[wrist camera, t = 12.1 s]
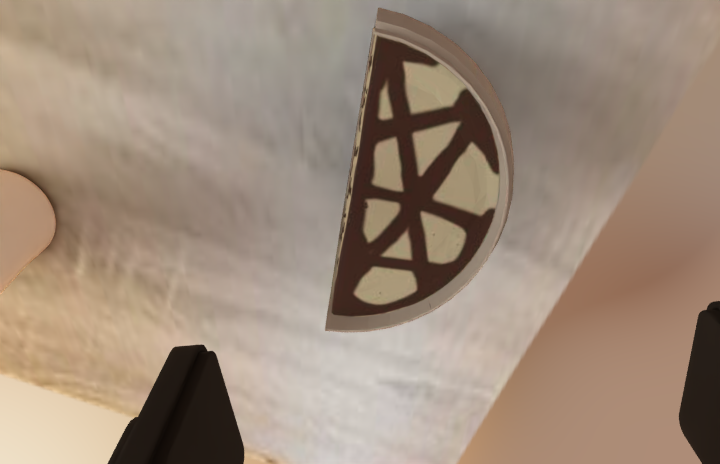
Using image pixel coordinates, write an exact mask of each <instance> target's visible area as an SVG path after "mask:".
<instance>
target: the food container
mask: <svg viewBox="0 0 720 464" xmlns="http://www.w3.org/2000/svg"><path fill="white" fill-rule="evenodd" d="M513 174H514V157H513V149H512V141H511V133H510V129H509V126H508V123H507V119H506V116H505V113H504V110H503V107H502V105H501V103H500V101H499V99H498V97H497V95H496V93H495V91H494V89H493V87H492V85H491V83H490V82H489V81H488V79H487V78H486V77H485V75H484V74H483V72H482V71H481V70H480V68H479V67H478V66H477V64H476V63H475V62H474V61H473V60H472V59H471V58H470V57H469V56H468V55H467V54H466V53H465V52H464V51H463V50H462V49H461V48H460V47H459V46H457V45H456V44H455V43H454V42H453V41H451V40H450V39H448V38H447V37H445V36H444V35H442V34H441V33H439V32H438V31H437V30H435V29H434V28H432V27H431V26H428V25H426V24H424V23H422V22H420V21H417V20H415V19H413V18H411V17H409V16H406V15H404V14H401V13H397V12H393V11H389V10H386V9H382V8H378V11H377V19H376V26H375V28H373V32H372V38H371V44H370V50H369V56H368V62H367V68H366V74H365V80H364V86H363V92H362V98H361V104H360V110H359V116H358V122H357V129H356V135H355V141H354V147H353V153H352V159H351V165H350V171H349V177H348V183H347V189H346V195H345V201H344V208H343V214H342V221H341V227H340V234H339V241H338V247H337V254H336V261H335V267H334V274H333V281H332V287H331V294H330V301H329V307H328V312H327V320H326V327H325V331H335V332H368V331H374V330H380V329H386V328H391V327H394V326H397V325H401V324H404V323H407V322H410V321H413V320H415V319H417V318H419V317H421V316H424V315H426V314H428V313H430V312H432V311H434V310H435V309H437V308H438V307H440V306H441V305H443V304H444V303H446V302H447V301H449V300H451V299H452V298H453V297H454V296H455V295H456V294H457V293H459V292H460V291H461V290H462V289H463V288H464V287H465V286H467V285H468V284H469V282H470V281H471V280H472V279H473V278H474V276H475V275H476V274H477V273H478V272H479V270H480V269H481V268H482V267H483V265H484V264H485V262H486V261H487V259H488V258H489V256H490V254H491V253H492V251H493V249H494V248H495V246H496V244H497V243H498V241H499V238H500V236H501V233H502V231H503V228H504V226H505V224H506V221H507V218H508V213H509V209H510V204H511V200H512V193H513Z"/></svg>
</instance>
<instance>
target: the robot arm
mask: <svg viewBox="0 0 720 464" xmlns="http://www.w3.org/2000/svg"><path fill="white" fill-rule="evenodd" d="M679 421H680V426H681V429H682V432H683V434H684V436H685V437H686V439H687V440H688V442H689V444H690V445H691V447H692V448H693V450H694V451H695V453H696V454H697V456H698V458H699V459H700V461H701V462H702V464H720V301H716V302H712V303H710V304H709V305H708V307H707V310H704V311H702V312H700V313H699V316H698V320H697V325H696V330H695V336H694V341H693V346H692V351H691V356H690V362H689V366H688V371H687V376H686V381H685V387H684V392H683V397H682V402H681V407H680V412H679ZM243 462H244V446H243V442H242V439H241V436H240V432H239V429H238V426H237V422H236V419H235V416H234V412H233V409H232V406H231V403H230V399H229V396H228V393H227V389H226V386H225V383H224V379H223V376H222V373H221V369H220V366H219V363H218V360H217V356H216V354H215V353H214V352H213V351H207V349H206V347H205V346H204V345H191V346H179V347H174V348H173V349H172V350H171V352H170V354H169V356H168V358H167V360H166V362H165V364H164V366H163V368H162V370H161V372H160V374H159V376H158V378H157V380H156V382H155V384H154V386H153V388H152V390H151V392H150V394H149V396H148V398H147V400H146V402H145V404H144V406H143V408H142V410H141V412H140V414H139V416H138V417H135V418H134V419H133V420H131V421H130V423H129V424H128V426H127V427H126V429H125V431H124V433H123V435H122V437H121V439H120V441H119V442H118V444H117V446H116V449H115V450H114V452H113V454H112V456H111V458H110V460H109V462H108V464H243Z"/></svg>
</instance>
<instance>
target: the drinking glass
mask: <svg viewBox="0 0 720 464" xmlns="http://www.w3.org/2000/svg"><path fill="white" fill-rule="evenodd" d="M55 229H56V219H55V213H54V210H53V207H52V205H51V203H50V201H49V200H48V198H47V197H46V195H45V194H44V193H43V192H42V191H41V190H40V188H38V187H37V186H36V185H35V184H34V183H33V182H31V181H30V180H28V179H27V178H25V177H23V176H21V175H19V174H16V173H14V172H11V171H7V170H1V169H0V294H1V293H2V292H3V291H4V290H5V289H6V288H7V287H8V285H9V284H10V283H11V282H12V281H13V280H14V279H15V278H16V277H17V276H18V275H19V274H20V272H21V271H22V270H23V269H24V268H25V267H26V266H27V265H28V264H29V263H30V262H31V261H32V260H33V259H35V258H36V257H37V256H38V255H39V254H40V253H41V252H43V251H44V250H45V249H46V248H47V246H48V245H49V244H50V242H51V241H52V239H53V236H54V234H55Z"/></svg>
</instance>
